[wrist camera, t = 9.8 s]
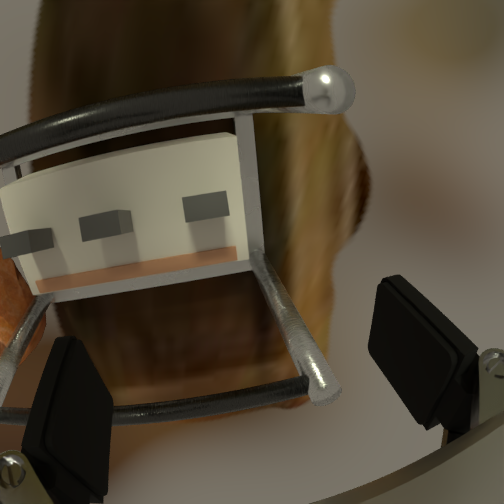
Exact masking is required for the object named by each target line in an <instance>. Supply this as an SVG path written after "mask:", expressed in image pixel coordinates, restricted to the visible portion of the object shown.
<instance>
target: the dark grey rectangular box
mask: <svg viewBox="0 0 504 504" xmlns="http://www.w3.org/2000/svg"><path fill="white" fill-rule="evenodd" d="M79 225H80V231H81V237H82V242H86V241H91V240H96V239H101V238H106V237H111V236H116V235H121V234H126V233H130V232H134V231H133V224H132V218H131V211H130V210H118V209H117V210H112V211H108V212H103V213H98V214H94V215H89V216H84V217H80V218H79Z"/></svg>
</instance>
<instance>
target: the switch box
mask: <svg viewBox="0 0 504 504" xmlns="http://www.w3.org/2000/svg"><path fill="white" fill-rule="evenodd" d="M219 191H226V193H227V199H228V206H229V212H230V216H224V217H218V218H212V219H206V220H200V221H194V222H188V223H186V222H185V215H184V209H183V202H182V197H188V196H194V195H200V194H206V193H212V192H219ZM0 199H1V202H2V207H3V210H4V214H5V218H6V221H7V224H8V228H9V230H10V234H14V233H18V232H22V231H26V230H32V229H42V228H51V231H52V237H53V243H54V248H50V249H46V250H42V251H38V252H34V253H29V254H25V255H20V256H18V258H19V261H20V263H21V266H22V269H23V272H24V274H25V277H26V279H27V282H28V285H29V287H30V289H31V292H32V294H33V295H40V294H46V293H52V292H58V291H64V290H70V289H76V288H82V287H88V286H94V285H100V284H106V283H112V282H118V281H124V280H130V279H136V278H142V277H148V276H154V275H160V274H166V273H172V272H177V271H183V270H189V269H195V268H201V267H207V266H212V265H218V264H224V263H230V262H236V261H241V260H247V259H249V250H248V241H247V231H246V222H245V212H244V203H243V193H242V184H241V174H240V164H239V155H238V145H237V136H235V135H233V134H230V133H228V132H222V133H215V134H207V135H200V136H193V137H187V138H181V139H175V140H169V141H163V142H158V143H152V144H147V145H142V146H137V147H132V148H127V149H123V150H118V151H114V152H109V153H105V154H101V155H96V156H92V157H88V158H84V159H81V160H77V161H73V162H69V163H66V164H62V165H58V166H55V167H52V168H48V169H45V170H41V171H38V172H35V173H32V174H29V175H26V176H24V177H22V178H20V179H18V180H16V181H14V182H12V183H10V184H8V185H6V186H4V187H2V188H1V189H0ZM117 209H118V210H130V211H131V218H132V224H133V231H134V232H130V233H126V234H121V235H116V236H111V237H106V238H101V239H96V240H91V241H86V242H82V237H81V231H80V225H79V218H80V217H84V216H89V215H94V214H98V213H103V212H108V211H112V210H117Z"/></svg>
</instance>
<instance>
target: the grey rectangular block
mask: <svg viewBox="0 0 504 504" xmlns="http://www.w3.org/2000/svg"><path fill="white" fill-rule="evenodd" d="M0 245H1V251H2V257H3V259H7V258H11V257H16V256H20V255H25V254H29V253H34V252H38V251H42V250H46V249H50V248H54V243H53V237H52V231H51V228H42V229H32V230H26V231H22V232H18V233H14V234H10V235H7V236H3V237H0Z"/></svg>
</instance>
